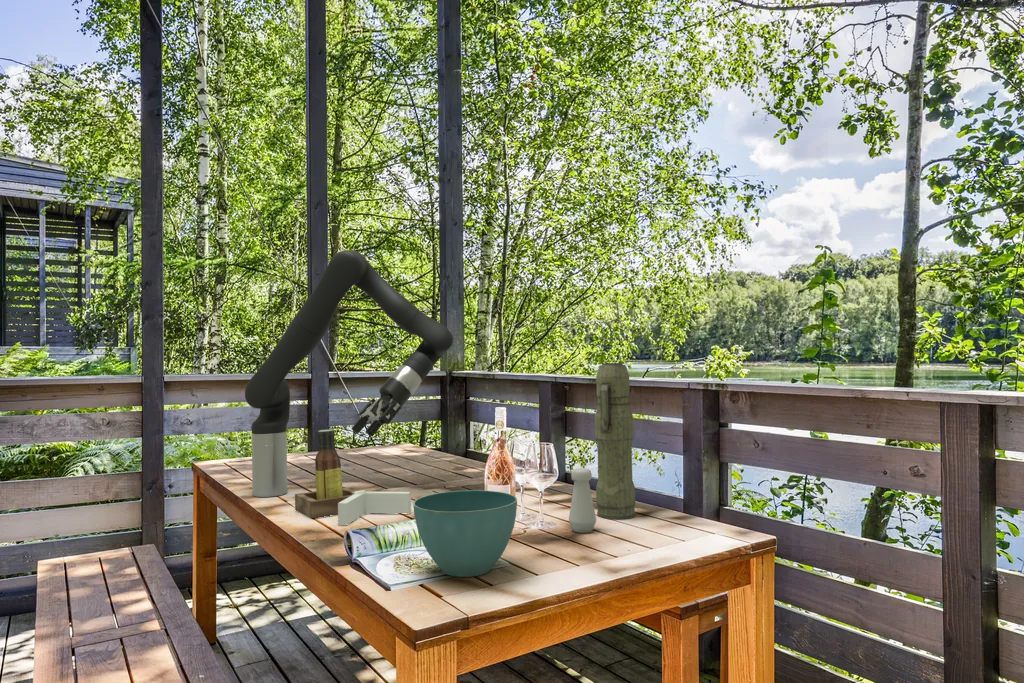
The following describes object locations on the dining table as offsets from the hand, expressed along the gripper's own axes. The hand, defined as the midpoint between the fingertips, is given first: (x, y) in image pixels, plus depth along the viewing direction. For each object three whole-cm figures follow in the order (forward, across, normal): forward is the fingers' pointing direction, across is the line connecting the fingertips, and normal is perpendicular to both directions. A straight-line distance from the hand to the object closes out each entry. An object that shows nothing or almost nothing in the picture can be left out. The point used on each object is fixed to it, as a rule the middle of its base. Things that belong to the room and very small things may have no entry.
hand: (361, 432), depth 173 cm
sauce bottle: (+19, 0, +7) cm, 21 cm away
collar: (+19, 0, +7) cm, 20 cm away
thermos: (-15, +50, +41) cm, 67 cm away
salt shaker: (-5, +55, +31) cm, 63 cm away
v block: (+16, +12, +10) cm, 22 cm away
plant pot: (+19, +61, +8) cm, 64 cm away
